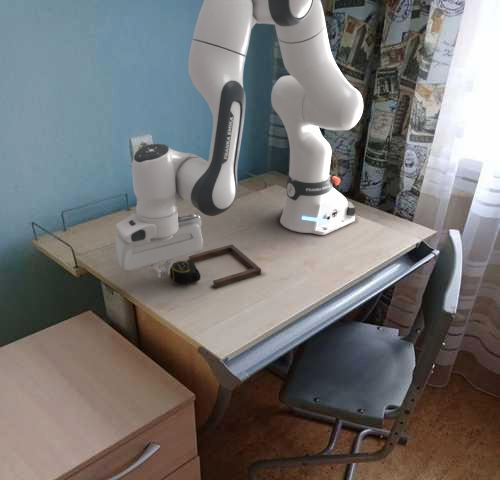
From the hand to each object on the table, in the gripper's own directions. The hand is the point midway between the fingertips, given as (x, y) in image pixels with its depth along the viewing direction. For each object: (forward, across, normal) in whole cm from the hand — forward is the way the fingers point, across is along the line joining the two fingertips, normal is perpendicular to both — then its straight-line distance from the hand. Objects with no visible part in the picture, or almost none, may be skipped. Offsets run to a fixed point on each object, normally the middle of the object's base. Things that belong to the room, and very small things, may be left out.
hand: (163, 275), depth 120 cm
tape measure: (+3, -6, 0) cm, 7 cm away
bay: (+3, -16, 0) cm, 16 cm away
